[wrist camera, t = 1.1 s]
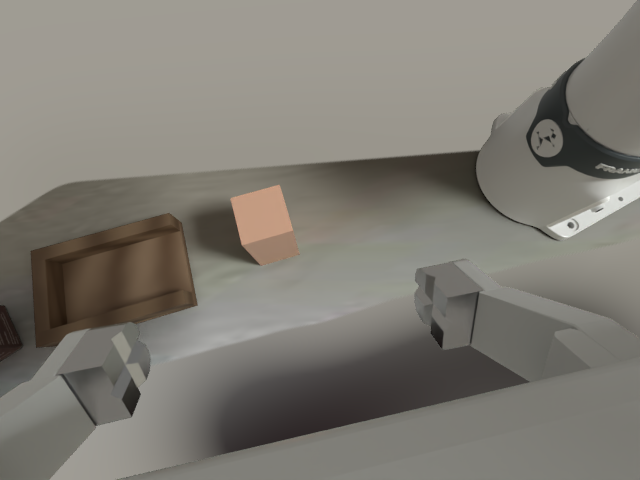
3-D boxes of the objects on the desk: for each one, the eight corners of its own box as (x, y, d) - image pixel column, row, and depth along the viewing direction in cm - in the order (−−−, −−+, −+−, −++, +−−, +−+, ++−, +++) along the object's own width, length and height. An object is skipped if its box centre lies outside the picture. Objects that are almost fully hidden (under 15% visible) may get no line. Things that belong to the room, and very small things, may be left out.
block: (289, 218, 41) (279, 184, 31) (299, 254, 40) (293, 230, 30) (251, 229, 41) (230, 198, 31) (261, 265, 39) (241, 245, 30)
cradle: (181, 222, 41) (169, 213, 38) (197, 305, 38) (185, 303, 35) (55, 257, 40) (30, 251, 36) (62, 345, 37) (36, 347, 33)
